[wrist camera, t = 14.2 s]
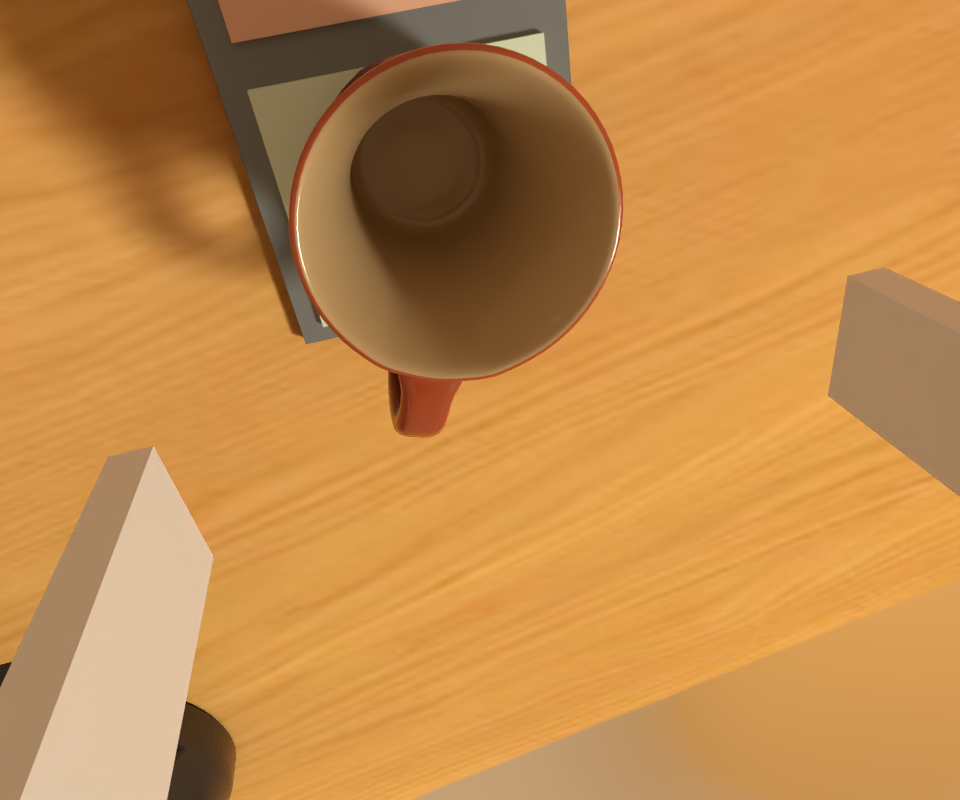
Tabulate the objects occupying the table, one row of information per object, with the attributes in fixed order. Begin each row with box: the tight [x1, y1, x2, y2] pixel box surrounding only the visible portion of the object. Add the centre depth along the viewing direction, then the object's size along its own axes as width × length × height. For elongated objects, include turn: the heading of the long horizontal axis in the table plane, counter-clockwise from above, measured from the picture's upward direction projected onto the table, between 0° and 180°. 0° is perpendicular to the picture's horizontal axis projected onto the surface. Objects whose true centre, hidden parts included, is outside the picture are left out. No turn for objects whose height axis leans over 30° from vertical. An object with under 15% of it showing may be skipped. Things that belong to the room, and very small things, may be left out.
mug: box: [289, 42, 623, 437], centre depth 22 cm, size 12×9×10 cm
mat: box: [188, 0, 571, 344], centre depth 23 cm, size 13×22×1 cm, turn 9°
